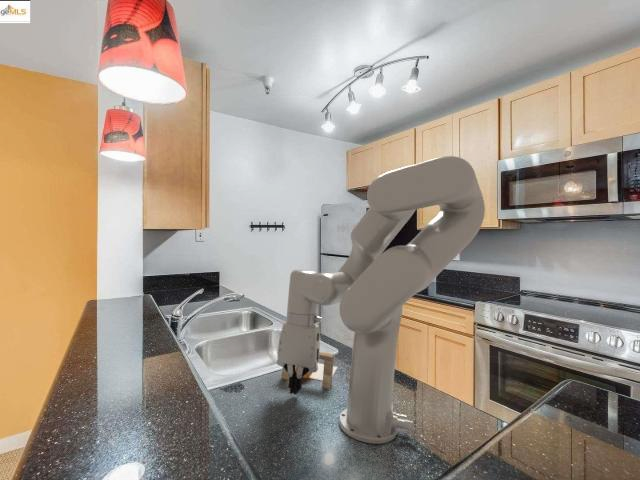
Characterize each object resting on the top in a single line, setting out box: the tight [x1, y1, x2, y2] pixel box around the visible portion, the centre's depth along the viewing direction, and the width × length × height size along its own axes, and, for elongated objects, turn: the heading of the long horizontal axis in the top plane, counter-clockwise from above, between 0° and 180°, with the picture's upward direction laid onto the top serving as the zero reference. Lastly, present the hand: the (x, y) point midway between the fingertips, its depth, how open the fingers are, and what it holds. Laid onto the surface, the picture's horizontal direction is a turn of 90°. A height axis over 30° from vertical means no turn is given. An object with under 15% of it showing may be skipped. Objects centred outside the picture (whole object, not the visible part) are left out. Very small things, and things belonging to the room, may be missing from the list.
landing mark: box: [307, 362, 339, 382], centre depth 95 cm, size 12×12×1 cm
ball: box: [296, 366, 312, 380], centre depth 90 cm, size 5×5×5 cm
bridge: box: [281, 350, 335, 390], centre depth 87 cm, size 3×14×9 cm, turn 75°
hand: (294, 391), depth 77 cm, fingers closed
